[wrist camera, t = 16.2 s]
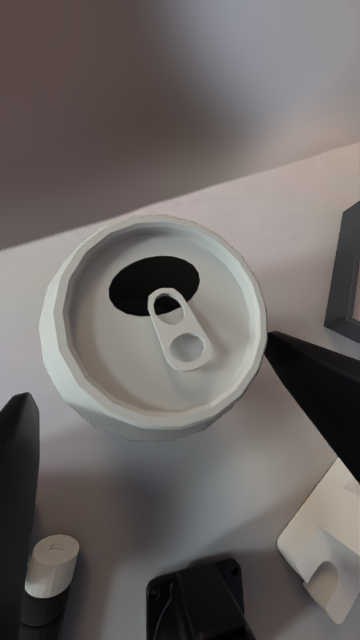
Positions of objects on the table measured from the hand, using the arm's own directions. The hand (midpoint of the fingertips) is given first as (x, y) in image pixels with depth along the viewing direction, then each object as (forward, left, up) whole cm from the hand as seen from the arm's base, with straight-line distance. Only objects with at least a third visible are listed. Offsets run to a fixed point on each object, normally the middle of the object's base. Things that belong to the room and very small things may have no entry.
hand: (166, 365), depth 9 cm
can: (+1, 0, -9) cm, 10 cm away
